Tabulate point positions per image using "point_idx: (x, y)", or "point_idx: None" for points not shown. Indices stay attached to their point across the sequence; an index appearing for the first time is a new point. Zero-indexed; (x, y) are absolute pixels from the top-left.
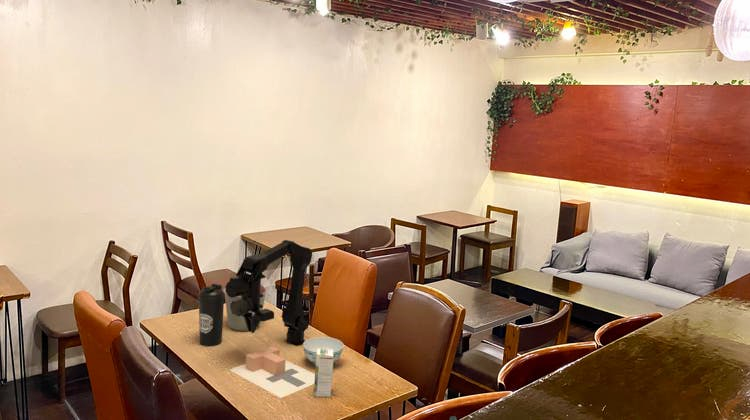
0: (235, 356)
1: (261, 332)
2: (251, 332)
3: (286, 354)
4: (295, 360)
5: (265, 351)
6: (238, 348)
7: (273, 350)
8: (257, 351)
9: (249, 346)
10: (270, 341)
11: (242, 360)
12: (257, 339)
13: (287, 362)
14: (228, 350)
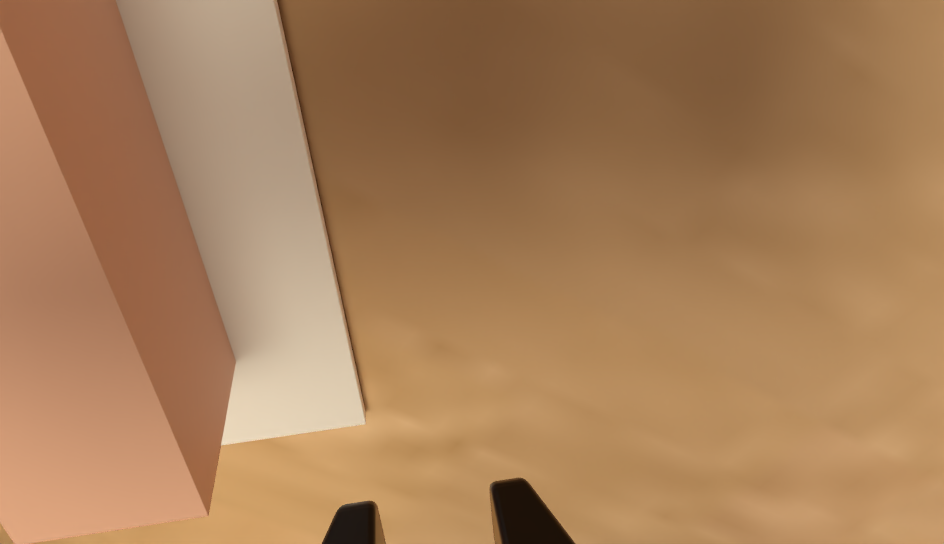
0: (677, 6)
1: (939, 537)
2: (362, 512)
3: (308, 519)
4: None
5: (15, 356)
6: (855, 185)
7: (9, 470)
8: (83, 240)
9: (785, 318)
10: (706, 522)
11: (473, 20)
12: (853, 454)
13: None
14: (928, 33)
